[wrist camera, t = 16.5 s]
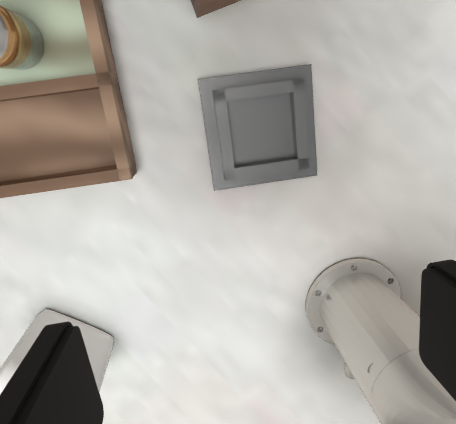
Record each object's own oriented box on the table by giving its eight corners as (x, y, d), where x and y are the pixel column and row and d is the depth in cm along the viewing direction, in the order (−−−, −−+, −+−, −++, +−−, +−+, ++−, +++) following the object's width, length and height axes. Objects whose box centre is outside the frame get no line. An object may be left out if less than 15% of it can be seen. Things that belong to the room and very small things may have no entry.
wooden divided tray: (136, 171, 41) (131, 179, 38) (-21, 194, 41) (-42, 204, 37) (95, -27, 35) (84, -41, 32) (-91, -6, 35) (-124, -17, 31)
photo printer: (120, 335, 48) (96, 413, 36) (105, 359, 48) (77, 444, 37) (43, 302, 45) (-9, 374, 33) (29, 328, 46) (-27, 408, 34)
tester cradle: (314, 173, 43) (321, 177, 41) (213, 188, 43) (214, 193, 40) (308, 65, 40) (315, 63, 37) (198, 79, 39) (198, 78, 37)
